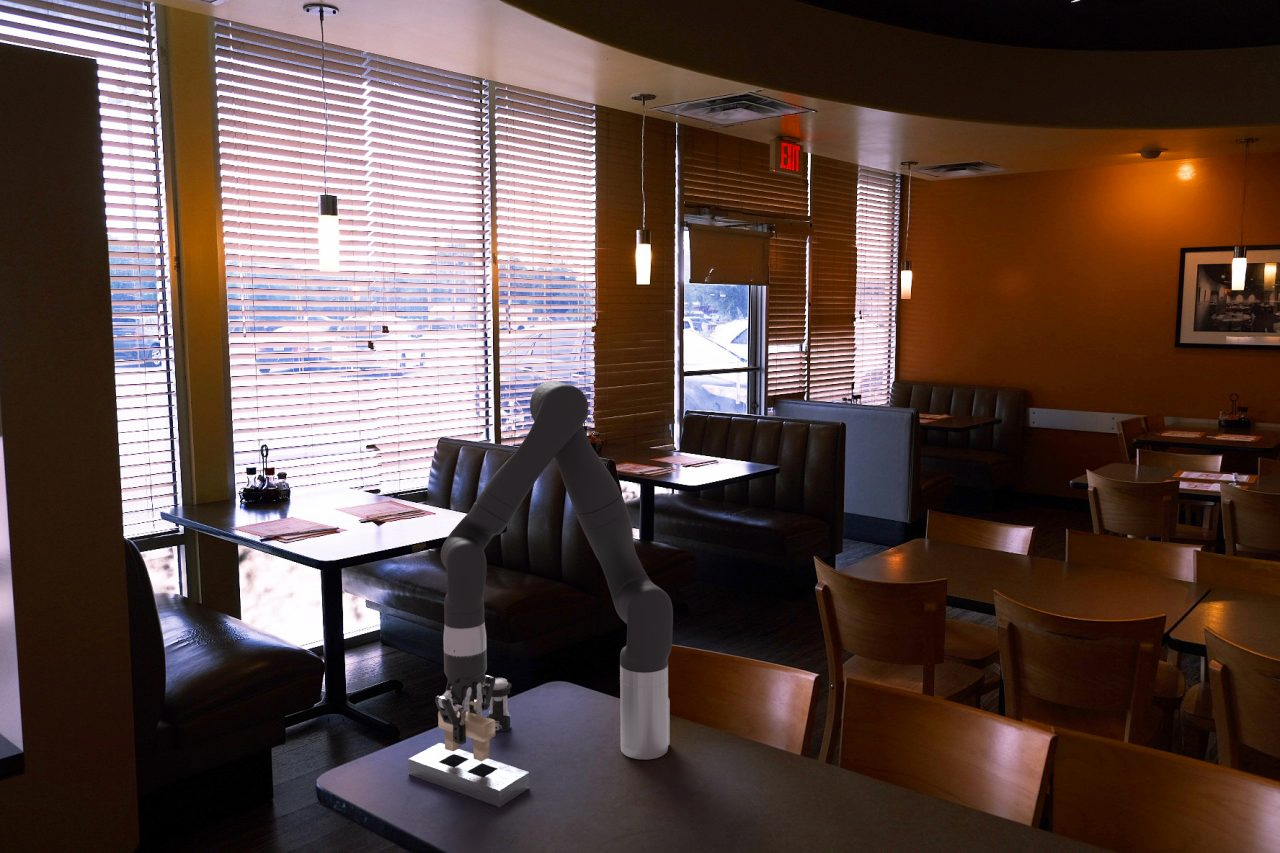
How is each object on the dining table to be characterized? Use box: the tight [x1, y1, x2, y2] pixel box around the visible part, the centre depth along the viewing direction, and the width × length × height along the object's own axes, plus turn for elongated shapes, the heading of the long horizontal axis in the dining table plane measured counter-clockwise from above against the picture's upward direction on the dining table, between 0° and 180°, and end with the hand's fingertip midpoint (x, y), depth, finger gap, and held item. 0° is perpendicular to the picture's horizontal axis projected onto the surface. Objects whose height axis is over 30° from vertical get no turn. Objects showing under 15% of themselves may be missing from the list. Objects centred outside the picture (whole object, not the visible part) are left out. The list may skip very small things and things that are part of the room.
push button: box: [486, 677, 512, 732], centre depth 197 cm, size 7×5×10 cm
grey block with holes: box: [408, 742, 530, 808], centre depth 175 cm, size 8×22×3 cm, turn 57°
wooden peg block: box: [437, 711, 496, 761], centre depth 174 cm, size 3×11×7 cm, turn 57°
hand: (467, 739), depth 174 cm, fingers closed on wooden peg block, 3 cm apart
